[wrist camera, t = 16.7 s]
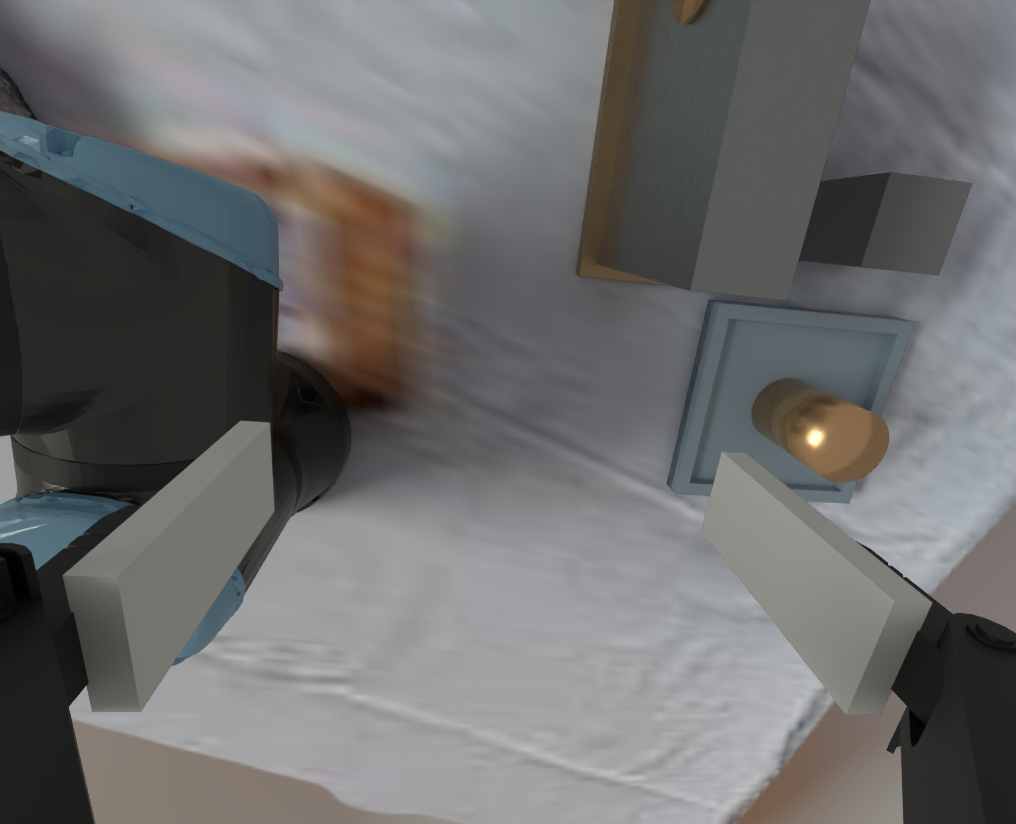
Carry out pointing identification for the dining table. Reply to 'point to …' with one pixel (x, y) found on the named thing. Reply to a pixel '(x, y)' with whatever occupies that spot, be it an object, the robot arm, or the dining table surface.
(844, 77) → the box
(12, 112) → the geode
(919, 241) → the charcoal block
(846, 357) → the slate tray
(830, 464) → the copper cylinder
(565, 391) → the dining table surface
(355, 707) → the dining table surface
